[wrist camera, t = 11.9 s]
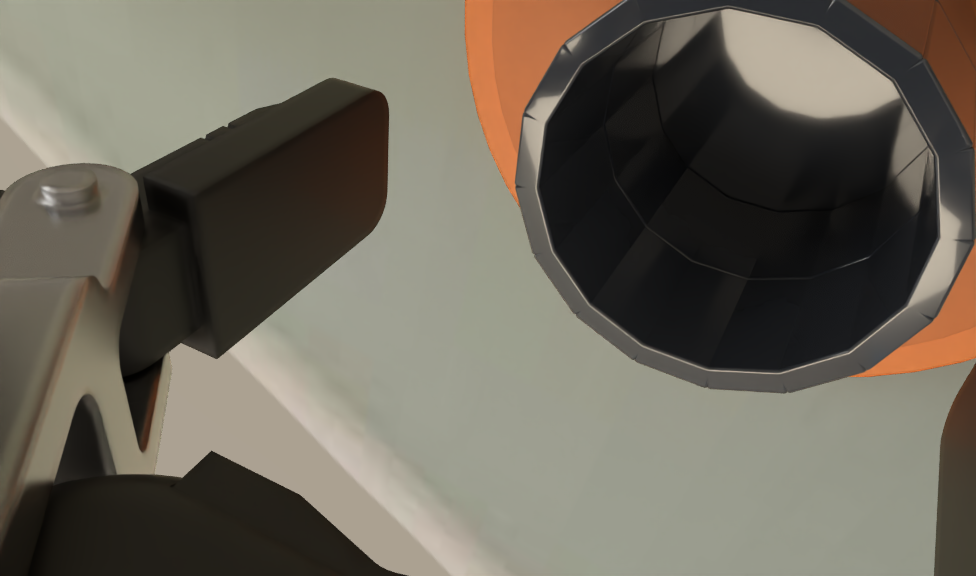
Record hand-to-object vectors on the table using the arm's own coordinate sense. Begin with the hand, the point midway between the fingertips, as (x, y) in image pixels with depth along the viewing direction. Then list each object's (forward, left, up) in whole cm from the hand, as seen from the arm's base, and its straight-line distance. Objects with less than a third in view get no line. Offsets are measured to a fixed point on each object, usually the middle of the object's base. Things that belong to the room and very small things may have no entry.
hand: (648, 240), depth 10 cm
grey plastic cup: (+1, 0, -7) cm, 7 cm away
